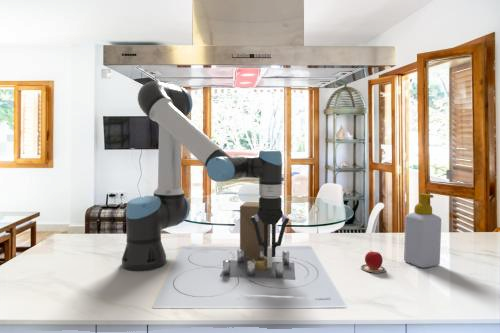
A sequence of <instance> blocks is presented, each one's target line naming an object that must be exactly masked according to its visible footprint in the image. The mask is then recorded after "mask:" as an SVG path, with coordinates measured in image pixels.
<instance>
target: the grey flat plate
mask: <svg viewBox="0 0 500 333" xmlns="http://www.w3.org/2000/svg"><path fill="white" fill-rule="evenodd" d="M229 260H230V275H229V276H224V275H223V270H221V273H220V274H219V277H223V278H247V279H248V278H249V279H266V280H268V279H271V280H289V281H290V280H292V281H295V280H296V270H295V269H296V268H295V262H290V261H289V265H283V277H282V278H277V277H276V262H277V261H272V267H267V270H265V271H263V272H262V271H255V276H254V277H249V276H248V261H249V260H244V263H242V264H239V263H237V259H236V260H234V259H233V260H231V259H229Z"/></svg>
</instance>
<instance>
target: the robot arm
mask: <svg viewBox="0 0 500 333" xmlns="http://www.w3.org/2000/svg"><path fill="white" fill-rule="evenodd" d="M137 103H138V106H139V108H140V109H141V111H142V112H143V113H144V114H145V116H147V117H148V118H149V119H150V120H151V121H153V122H155V123H157V124H158V158H157V160H158V162H157V163H158V168H157V188H156V189H155V190H154V191H153V195H145V196H138V197H135V198H132V199H130V200H129V201H128V202H127V203H126V208H125V210H126V211H125V221H126V222H125V224H126V227H125V228H126V245H125V248H124V252H123V255H122V257H121V267H122V268H123V269H125V270H127V271H134V272H135V271H136V272H138V271H140V272H142V271H150V270H154V269H158V268H161V267H163V266H165V265H166V263H167V255H166V254H167V253H166V251H165V249H164V245H163V243H162V230H164V229H168V228H171V227H175V226H178V225H180V224H182V223H183V222H185V221H186V220H187V218H188V217H189V215H190V210H191V209H190V207H191V206H190V201H188V199H187V197H186V196H185V191H184V190H183V189H182V187H181V185H182V184H181V183H182V182H181V181H182V146H183V147H184V148H185V149H186V150H187V151H188V152H189V153H191V155H193V156H194V157H195V158H196V159H197V160H198V161H199V162H200V163H201V164H202V165H204V167H205V169H206V173H207V176H208V177H209V179H211V181H214V182H216V183H219V182H222V183H223V182H228V181H233V180H238V179H245V178H252V179H258V195H259V197H258V202H259V211H258V213H257V215H255V216H252V218H251V221H252V222H253V224H254V227H255V231H256V235H257V239H258V243H259V245H260V246H263V247H264V256H265V257H267V267H272V262H273V258H275V257H276V250H277V249H276V248H277V247H280V246H281V245H282V242H283V238H284V234H285V229H286V227H287V224H288V223H289V222H290V217H289V216H287V215H285V214H284V213H283V210H282V206H283V205H282V197H281V196H283V193H282V192H283V189H282V185H283V182H282V176H283V175H282V174H283V160H282V158H283V156H282V152H281V151H280V150H279V149H278V150H277V149H276V150H275V149H272V150H271V149H270V150H269V149H263V150H260V151H259V153H258V155H242V154H240V155H239V154H237V155H236V154H234V155H229V154H228V153H226V152H225V151H224V150H223V149H222V148H221V147H220V146H219V145H218V144H217V143H216V142H214V141H213V140H212V139H211V138H210V137H209V136H207V134H206V133H205V132H204V131H202V130H201V129H200V128H199V127H198V126H197V125H196V124H194V123H193V122H192V121H191V120H190V119H189V118H187V117H188V115H189V114H190V113H191V112H192V109H193V99H192V95H191V94H190V92H188V89H187V90H186V88H184V87H181V86H179V85H177V84H176V85H175V84H169V83H165V82H162V81H159V80H158V81H156V80H154V81H153V80H152V81H149V82H145V84H143V85H142V86H141V87H140V89H139V91H138V93H137ZM258 217H259V218H260V219H261V221H262V222H263V223H264V241H262V237H261V232H260V228H259V224H258V220H259V219H258ZM280 220H281V223H282V224H281V227H280V231H279V234H278V238H276V236H277V234H276V230H277V228H276V226H277V224H278V223H279V221H280ZM268 224H270V226H271V245H270V246H268ZM276 239H277V241H276Z"/></svg>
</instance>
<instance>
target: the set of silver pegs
mask: <svg viewBox="0 0 500 333" xmlns="http://www.w3.org/2000/svg"><path fill="white" fill-rule="evenodd" d="M236 252H237V254H236V255H237V256H236V260H237V263H239V264H242V263H244V261H245V258H244V250H243V249H240V248H239V249H237V251H236ZM281 253H282V254H281V255H282V257H281V258H282V260H281V261H275V262H276V277H277V278H282V277H283V265H289V262H290V251H289V250H282V252H281ZM260 257H265V256H264V250H260ZM265 258H266V259H267V257H265ZM230 260H231V259H223V260H222V271H223V275H224V276H229V275H230ZM247 261H248V276H249V277H254V276H255V261H253V259H249V260H247Z"/></svg>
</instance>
